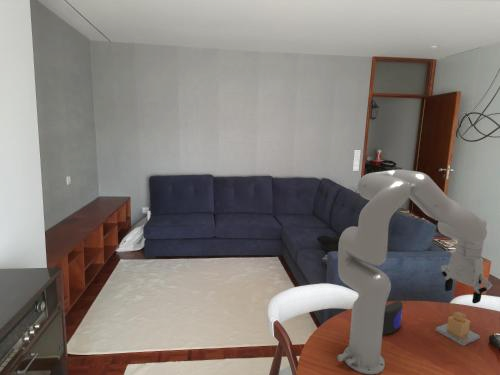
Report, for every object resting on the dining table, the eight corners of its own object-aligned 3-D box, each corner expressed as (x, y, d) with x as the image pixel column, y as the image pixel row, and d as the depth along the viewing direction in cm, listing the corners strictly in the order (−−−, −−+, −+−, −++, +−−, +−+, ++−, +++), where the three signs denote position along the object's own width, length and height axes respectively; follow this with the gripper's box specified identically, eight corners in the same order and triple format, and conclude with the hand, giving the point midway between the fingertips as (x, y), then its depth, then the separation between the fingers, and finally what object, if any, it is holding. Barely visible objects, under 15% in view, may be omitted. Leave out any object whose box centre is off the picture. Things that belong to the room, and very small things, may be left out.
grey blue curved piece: (381, 340, 116) (384, 315, 114) (370, 333, 119) (372, 309, 118) (407, 326, 125) (410, 303, 123) (396, 320, 128) (398, 298, 127)
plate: (462, 345, 113) (464, 334, 113) (435, 330, 122) (437, 319, 122) (479, 338, 118) (481, 327, 117) (451, 324, 127) (453, 313, 126)
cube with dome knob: (460, 336, 117) (462, 319, 116) (446, 329, 121) (448, 312, 120) (468, 333, 119) (471, 316, 118) (454, 326, 123) (457, 309, 122)
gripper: (438, 244, 121) (432, 287, 123) (489, 261, 106) (481, 309, 108) (451, 242, 124) (444, 284, 127) (502, 258, 109) (493, 305, 112)
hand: (461, 296), depth 117 cm, fingers open, 9 cm apart
